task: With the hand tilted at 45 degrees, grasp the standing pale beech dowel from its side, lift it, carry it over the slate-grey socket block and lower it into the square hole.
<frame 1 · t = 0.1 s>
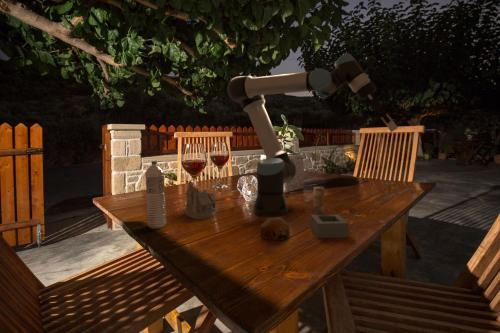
hand: (394, 129, 111), 36 cm above the table, tool tilted 35°, fingers open, 13 cm apart
bread roll: (275, 236, 97), on the table
dowel: (318, 223, 109), on the table
socket: (328, 232, 99), on the table
water bottle: (157, 226, 108), on the table
ceramic cottage: (203, 213, 125), on the table
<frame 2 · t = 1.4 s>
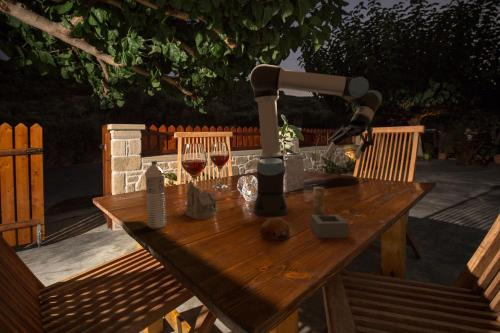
hand: (341, 156, 115), 25 cm above the table, tool tilted 45°, fingers open, 13 cm apart
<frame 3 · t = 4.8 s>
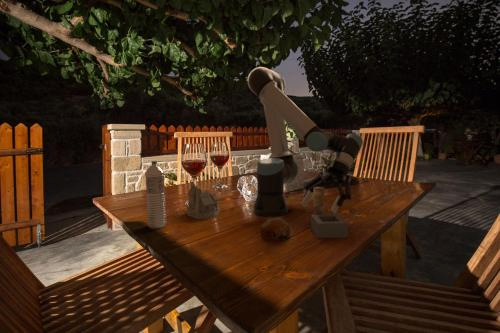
hand: (317, 208, 107), 6 cm above the table, tool tilted 45°, fingers open, 13 cm apart
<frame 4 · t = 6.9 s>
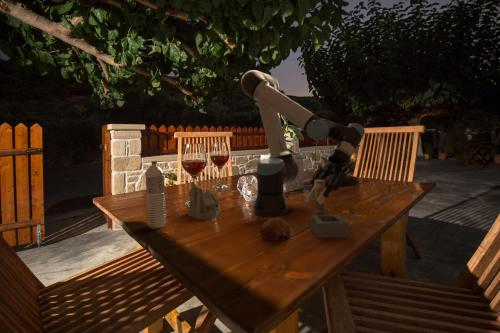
hand: (313, 201, 105), 9 cm above the table, tool tilted 45°, fingers closed on dowel, 4 cm apart
dowel: (319, 216, 109), point 3 cm above the table, touching gripper
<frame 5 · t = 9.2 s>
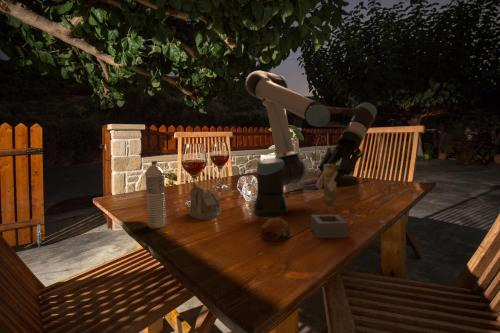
hand: (323, 187, 95), 17 cm above the table, tool tilted 45°, fingers closed on dowel, 4 cm apart
dowel: (330, 204, 98), point 10 cm above the table, touching gripper
when the fingers open (7 cm above the table, at t = 11.4 s): dowel stays where it is, resting in socket.
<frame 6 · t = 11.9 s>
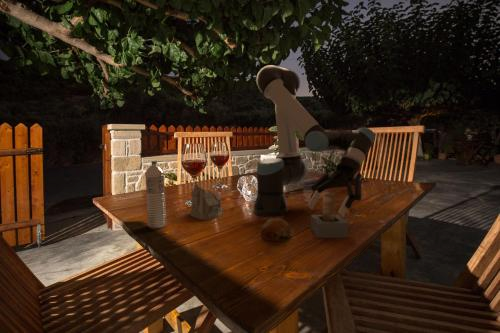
hand: (324, 210, 97), 8 cm above the table, tool tilted 45°, fingers open, 12 cm apart
dowel: (328, 232, 99), resting in socket
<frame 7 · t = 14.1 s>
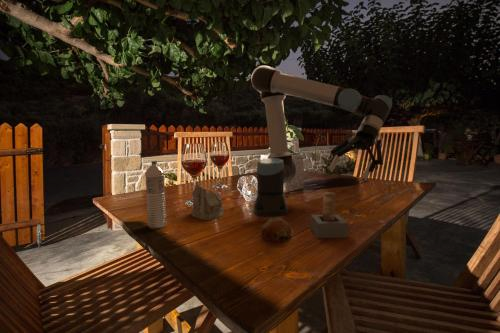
hand: (346, 174, 105), 19 cm above the table, tool tilted 40°, fingers open, 13 cm apart
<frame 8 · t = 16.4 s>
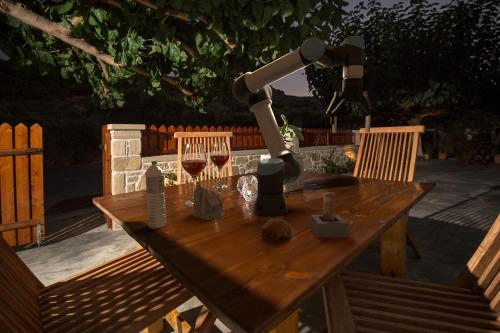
hand: (350, 132, 114), 35 cm above the table, tool pointing down, fingers open, 13 cm apart
at the end: dowel 0.1 cm off-centre on the socket, point 0.0 cm above the socket's base; dowel tilted 0°; the gripper is holding nothing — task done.
